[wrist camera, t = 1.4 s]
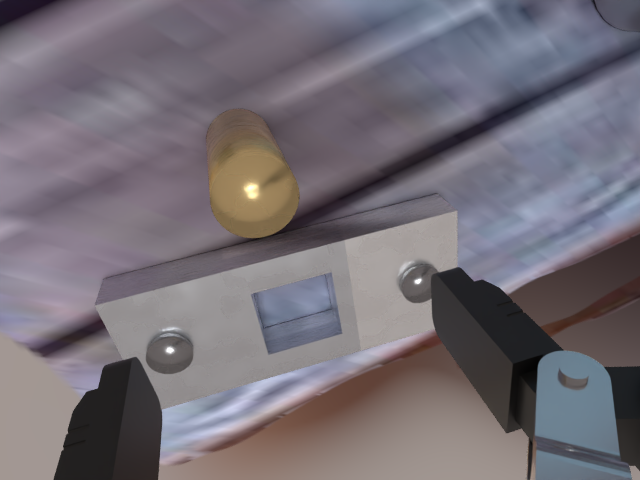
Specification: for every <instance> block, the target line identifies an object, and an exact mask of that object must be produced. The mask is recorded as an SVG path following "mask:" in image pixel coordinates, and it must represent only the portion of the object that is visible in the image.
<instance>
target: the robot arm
mask: <svg viewBox="0 0 640 480" xmlns="http://www.w3.org/2000/svg"><path fill="white" fill-rule="evenodd" d="M594 1H595V4H596V7H597V9H598V11H599V12H600V14H601V15H602V17H603V18H604V20H605V21H607V22H608V23H609V24H611V25H612V26H613V27H615V28H618V29H621V30H624V31H632V32H640V0H594ZM431 300H432V319H433V324H434V327H435V330H436V332H437V335H438V336H439V338H440V340H441V341H442V343H443V344H444V345H445V347H446V348H447V350H448V351H449V352H450V354H451V355H452V357H453V358H454V360H455V361H456V362H457V364H458V365H459V367H460V368H461V369H462V371H463V372H464V374H465V375H466V377H467V378H468V379H469V381H470V382H471V384H472V385H473V386H474V388H475V389H476V391H477V392H478V394H479V395H480V396H481V398H482V399H483V401H484V402H485V403H486V405H487V406H488V408H489V409H490V411H491V412H492V413H493V415H494V416H495V418H496V419H497V421H498V422H499V423H500V425H501V426H502V428H503V429H504V431H505V432H506V433H509V432H512V431H515V430H518V429H521V428H522V429H523V431H524V432H525V433H526V435H527V436H528V437H529V440H528V452H527V453H528V454H527V470H526V480H632V477H631V471H630V468H629V466H636V467H637V468H638V469H639V471H640V366H639V367H638V366H637V367H603V366H602V365H601V364H600V363H598V362H597V361H596V360H594V359H592V358H591V357H589V356H586V355H584V354H581V353H578V352H573V351H564V350H563V349H562V348H561V347H560V346H559V345H558V344H557V343H556V342H555V341H554V340H553V339H552V338H551V337H550V336H548V335H547V334H546V333H545V332H544V331H543V330H542V329H541V328H540V327H539V326H538V325H537V324H536V323H535V322H534V321H533V320H532V319H531V318H530V317H529V316H528V315H527V314H526V313H523V311H522V309H521V308H520V307H519V306H518V305H517V304H516V303H513V301H512V299H511V298H510V297H509V296H507V295H506V294H505V293H504V292H503V291H502V290H501V289H500V288H499V287H497V286H495V285H492V284H490V283H488V282H486V281H484V280H479V281H475V282H474V281H473V280H472V279H471V278H470V277H469V276H468V275H467V274H466V273H465V272H464V271H463V270H462V269H461V268H459V267H457V268H453V269H449V270H446V271H442V272H439V273H435V274H433V275H432V276H431ZM161 431H162V410H161V405H160V401H159V398H158V396H157V394H156V392H155V390H154V388H153V386H152V384H151V382H150V380H149V378H148V376H147V374H146V372H145V370H144V368H143V366H142V364H141V362H140V360H139V359H138V358H137V357H133V358H129V359H125V360H122V361H118V362H115V363H111V364H108V365H105V366H104V368H103V370H102V374H101V378H100V382H99V387H98V389H95V390H91V391H88V392H86V393H85V395H84V396H83V398H82V399H81V401H80V402H79V403H78V405H77V406H76V408H75V409H74V411H73V413H72V417H71V421H70V424H69V427H68V434H67V435H66V438H65V442H64V445H63V447H64V450H63V451H62V452H61V455H60V459H59V463H58V466H57V469H56V473H55V476H54V480H158V472H159V459H160V445H161Z"/></svg>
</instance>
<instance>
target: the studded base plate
mask: <svg viewBox="0 0 640 480" xmlns="http://www.w3.org/2000/svg"><path fill="white" fill-rule="evenodd" d="M453 268H457V210H456V209H455V208H454V207H453V206H451V205H450V204H449V203H448V202H447V201H445V200H444V199H443V198H442V197H441V196H440V195H438V194H434V195H430V196H426V197H422V198H418V199H414V200H410V201H406V202H402V203H399V204H395V205H391V206H387V207H383V208H379V209H375V210H371V211H367V212H363V213H359V214H356V215H352V216H348V217H344V218H340V219H336V220H332V221H328V222H324V223H320V224H316V225H312V226H309V227H305V228H301V229H297V230H293V231H289V232H285V233H281V234H277V235H273V236H269V237H266V238H262V239H258V240H254V241H250V242H246V243H242V244H238V245H234V246H230V247H226V248H223V249H219V250H215V251H211V252H207V253H203V254H199V255H195V256H191V257H187V258H183V259H179V260H176V261H172V262H168V263H164V264H160V265H156V266H152V267H148V268H144V269H140V270H136V271H133V272H129V273H125V274H121V275H117V276H113V277H109V278H105V279H103V281H102V284H101V288H100V291H99V294H98V297H97V300H96V303H95V307H96V309H97V311H98V313H99V315H100V317H101V319H102V320H103V322H104V324H105V326H106V328H107V330H108V332H109V334H110V336H111V338H112V339H113V341H114V343H115V345H116V347H117V349H118V351H119V353H120V355H121V357H122V358H123V360H125V359H129V358H133V357H137V358H138V359H139V360H140V362H141V364H142V366H143V368H144V370H145V372H146V374H147V376H148V378H149V380H150V382H151V384H152V386H153V388H154V390H155V392H156V394H157V396H158V398H159V401H160V405H161V410H162V409H165V408H168V407H172V406H175V405H179V404H182V403H185V402H189V401H192V400H196V399H199V398H202V397H206V396H209V395H212V394H216V393H219V392H223V391H226V390H229V389H233V388H236V387H240V386H243V385H246V384H250V383H253V382H257V381H260V380H263V379H267V378H270V377H273V376H277V375H280V374H284V373H287V372H290V371H294V370H297V369H301V368H304V367H307V366H311V365H314V364H318V363H321V362H324V361H328V360H331V359H334V358H338V357H341V356H345V355H348V354H351V353H355V352H358V351H362V350H365V349H368V348H372V347H375V346H379V345H382V344H385V343H389V342H392V341H395V340H399V339H402V338H406V337H409V336H412V335H416V334H419V333H423V332H426V331H429V330H433V329H435V327H434V324H433V319H432V300H431V276H432V275H433V274H435V273H439V272H442V271H446V270H449V269H453ZM323 274H326V279H327V284H328V290H329V295H330V300H331V306H332V309H331V310H328V311H324V312H321V313H317V314H314V315H310V316H306V317H303V318H299V319H296V320H292V321H289V322H285V323H282V324H278V325H274V326H271V327H267V328H264V329H263V326H262V322H261V319H260V315H259V312H258V309H257V305H256V302H255V298H254V295H253V293H256V292H260V291H264V290H268V289H271V288H275V287H279V286H282V285H286V284H290V283H293V282H297V281H301V280H305V279H308V278H312V277H316V276H319V275H323Z"/></svg>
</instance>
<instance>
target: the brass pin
mask: <svg viewBox="0 0 640 480" xmlns="http://www.w3.org/2000/svg"><path fill="white" fill-rule="evenodd" d="M206 145H207V160H208V175H209V190H210V204H211V208H212V211H213V214H214V216H215V218H216V219H217V221H218V222H219V223H220V224H221V225H222V226H223V227H224V228H225V229H226V230H228V231H229V232H231V233H233V234H235V235H238V236H241V237H246V238H261V237H266V236H269V235H271V234H274V233H276V232H278V231H279V230H281V229H282V228H283V227H285V226H286V225H287V224H288V223H289V222H290V220H291V219H292V218H293V216H294V214H295V212H296V210H297V207H298V203H299V188H298V184H297V182H296V179H295V177H294V175H293V173H292V171H291V170H290V168H289V166H288V164H287V162H286V160H285V158H284V156H283V154H282V152H281V150H280V148H279V147H278V145H277V143H276V141H275V139H274V137H273V135H272V133H271V131H270V129H269V127H268V126H267V124H266V122H265V121H264V120H263V119H262V118H261V117H260V116H258V115H257V114H255V113H254V112H251V111H249V110H245V109H232V110H228V111H226V112H223V113H222V114H220V115H219V116H217V117H216V118H215V119H214V120H213V122H212V123H211V124H210V126H209V129H208V131H207V136H206Z"/></svg>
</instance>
